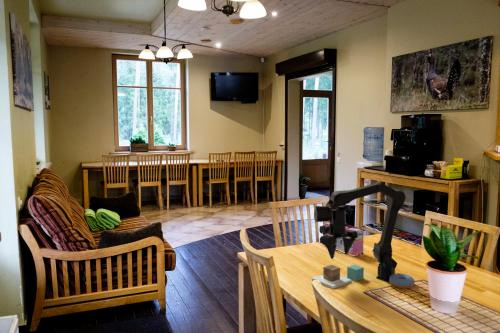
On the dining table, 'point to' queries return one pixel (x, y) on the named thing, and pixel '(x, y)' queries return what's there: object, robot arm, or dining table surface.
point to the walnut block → (331, 273)
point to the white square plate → (335, 283)
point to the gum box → (357, 244)
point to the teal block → (355, 272)
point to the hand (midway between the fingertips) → (339, 256)
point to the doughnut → (401, 281)
